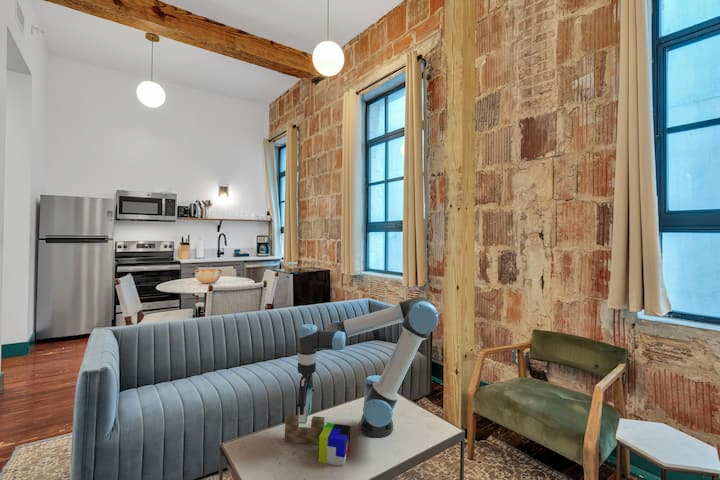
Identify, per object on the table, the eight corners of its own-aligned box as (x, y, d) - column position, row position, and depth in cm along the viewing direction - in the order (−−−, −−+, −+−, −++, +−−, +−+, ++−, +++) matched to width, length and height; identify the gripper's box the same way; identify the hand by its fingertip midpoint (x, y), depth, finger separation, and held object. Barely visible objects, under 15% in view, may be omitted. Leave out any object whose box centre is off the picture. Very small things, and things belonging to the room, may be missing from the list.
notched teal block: (304, 409, 152) (305, 387, 152) (311, 410, 152) (312, 387, 151) (298, 423, 141) (299, 398, 141) (305, 423, 141) (306, 399, 140)
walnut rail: (323, 440, 147) (324, 417, 147) (322, 444, 144) (323, 420, 144) (286, 437, 148) (287, 414, 148) (284, 441, 145) (285, 418, 145)
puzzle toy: (343, 466, 132) (344, 440, 131) (318, 461, 134) (319, 436, 133) (349, 450, 141) (350, 425, 141) (326, 446, 143) (327, 422, 143)
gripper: (304, 352, 158) (302, 400, 158) (290, 372, 134) (288, 428, 135) (320, 353, 157) (319, 401, 158) (309, 373, 134) (307, 430, 134)
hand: (305, 414), depth 146 cm, fingers closed on notched teal block, 11 cm apart
